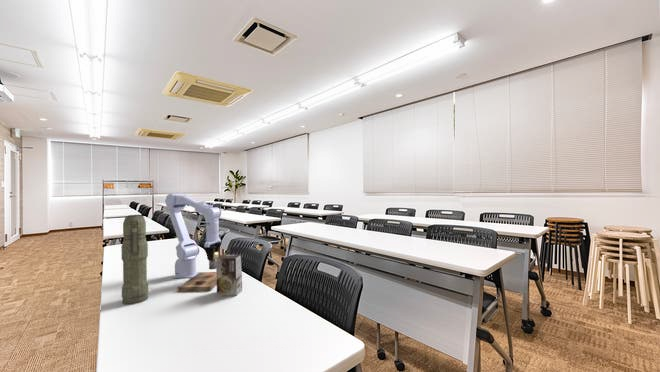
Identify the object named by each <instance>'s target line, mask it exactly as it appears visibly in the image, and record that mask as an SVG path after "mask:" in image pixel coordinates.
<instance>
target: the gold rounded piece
mask: <svg viewBox="0 0 660 372" xmlns="http://www.w3.org/2000/svg"><path fill="white" fill-rule="evenodd" d="M219 256H220V255H219V252H218V251H216V250H215V251H214V257H213V260H208V258H207V257H206V259H207V260H208V269H209V270H216V258H218V257H219Z"/></svg>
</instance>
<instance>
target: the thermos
mask: <svg viewBox="0 0 660 372" xmlns="http://www.w3.org/2000/svg"><path fill="white" fill-rule="evenodd" d="M145 219H146V218H145V217H144V215H142V214H132V215H131V214H130V215H127V216H125V218H124V220H123V224H122V226H123V227H122V229H123V230H122V234H123V235H122V236H123V240H122V243H121V245H120V246H121V250H120V251H121V261H122V279H123V281H122V286H121V298H122V301H121V302H122V305H126V306H129V305H130V306H131V305H132V306H133V305H137V304H140V303H143V302H145V301H148V299H149V283H148V278H147V277H148V275H147V273H148V270H147V267H148V266H147V258H148V256H149V247H148V246H149V243H148V241H147V236H146V234H147V229H146V227H147V221H146V220H145Z"/></svg>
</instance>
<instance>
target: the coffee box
mask: <svg viewBox="0 0 660 372" xmlns="http://www.w3.org/2000/svg"><path fill="white" fill-rule="evenodd" d="M218 256H219V257H218V258H216V269H215V272H216V274H217V285H216V296H232V297H233V296H238V295H239V294H240V293H241V292H242V291H243V267H242V266H243V264H242V263H243V260H242V258H243V257H242V256H243V255H242V254H221V255H218Z"/></svg>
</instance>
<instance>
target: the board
mask: <svg viewBox="0 0 660 372" xmlns="http://www.w3.org/2000/svg"><path fill="white" fill-rule="evenodd" d="M198 272H199V273H198V274H197V275H195V276H194V277H192V278H189V279H188V280H186V281H185V282H184V283H182V284H180V285H179V286H178V287H177V290H178V293H179V292H181V293H185V292H211V291H212V290H213V289H214V288H215V287H217V274H216V271H209V272H208V271H205V272H204V271H203V272H200V271H198Z"/></svg>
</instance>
